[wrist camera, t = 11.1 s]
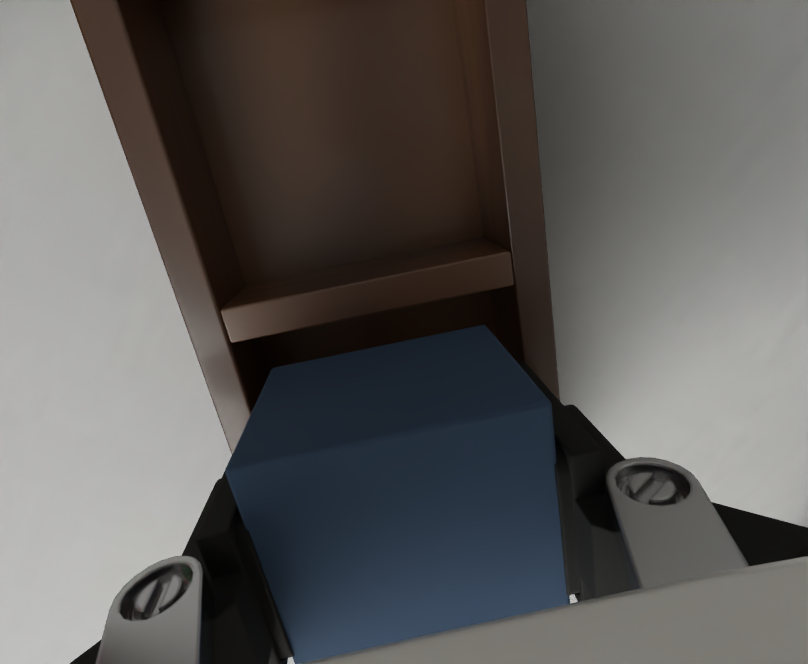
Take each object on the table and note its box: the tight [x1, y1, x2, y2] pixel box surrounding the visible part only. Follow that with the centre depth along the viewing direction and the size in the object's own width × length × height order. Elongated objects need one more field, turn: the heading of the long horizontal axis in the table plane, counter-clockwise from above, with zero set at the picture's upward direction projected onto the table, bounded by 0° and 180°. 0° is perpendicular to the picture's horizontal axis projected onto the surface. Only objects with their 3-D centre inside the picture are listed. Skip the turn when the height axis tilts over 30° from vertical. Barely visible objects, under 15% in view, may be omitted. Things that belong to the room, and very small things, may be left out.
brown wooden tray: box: [70, 0, 560, 454], centre depth 12 cm, size 8×15×3 cm, turn 10°
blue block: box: [225, 325, 570, 664], centre depth 10 cm, size 5×5×4 cm
